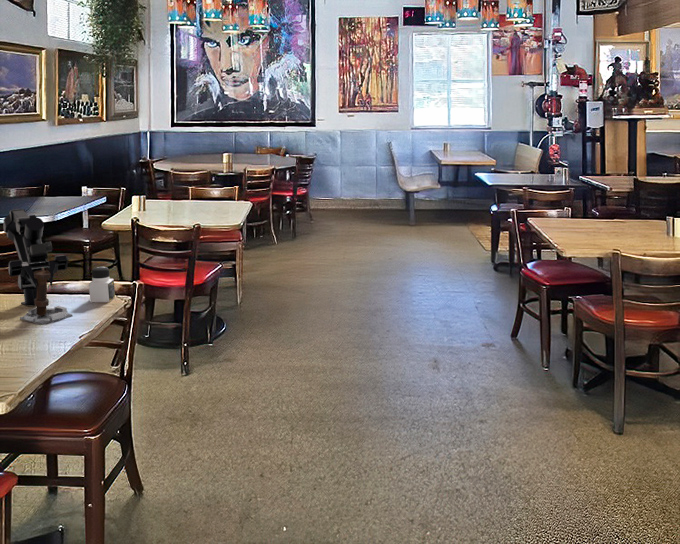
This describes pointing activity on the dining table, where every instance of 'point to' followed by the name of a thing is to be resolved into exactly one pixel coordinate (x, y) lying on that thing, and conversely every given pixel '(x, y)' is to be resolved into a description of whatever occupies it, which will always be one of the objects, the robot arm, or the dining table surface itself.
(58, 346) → the dining table surface
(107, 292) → the medicine bottle
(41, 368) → the dining table surface
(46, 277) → the bolt
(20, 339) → the dining table surface
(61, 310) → the ring collar
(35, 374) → the dining table surface
